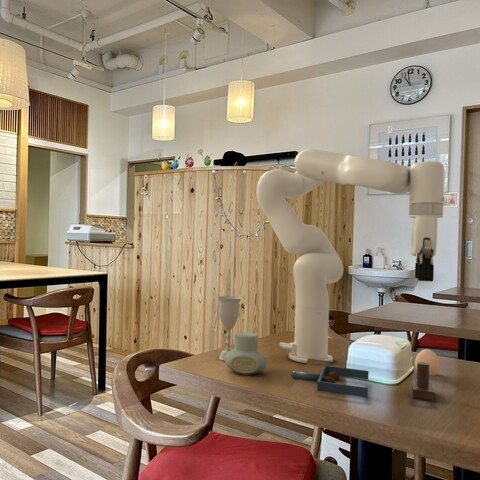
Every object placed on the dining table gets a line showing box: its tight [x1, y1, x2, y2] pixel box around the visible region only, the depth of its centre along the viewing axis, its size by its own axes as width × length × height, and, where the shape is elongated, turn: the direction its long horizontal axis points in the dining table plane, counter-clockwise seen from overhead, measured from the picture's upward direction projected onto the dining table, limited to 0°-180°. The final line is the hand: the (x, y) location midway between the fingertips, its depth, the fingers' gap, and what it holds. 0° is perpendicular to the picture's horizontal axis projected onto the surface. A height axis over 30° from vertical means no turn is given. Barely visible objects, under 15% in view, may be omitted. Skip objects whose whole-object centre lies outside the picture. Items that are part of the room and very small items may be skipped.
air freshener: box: [224, 331, 268, 376], centre depth 128 cm, size 11×8×10 cm
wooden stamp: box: [411, 362, 435, 403], centre depth 108 cm, size 4×8×8 cm, turn 155°
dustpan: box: [290, 365, 370, 399], centre depth 116 cm, size 18×16×3 cm
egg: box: [414, 348, 441, 377], centre depth 127 cm, size 6×6×8 cm
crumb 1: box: [323, 375, 337, 383], centre depth 114 cm, size 3×3×3 cm
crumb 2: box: [326, 372, 340, 382], centre depth 119 cm, size 3×3×3 cm
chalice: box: [217, 295, 242, 362], centre depth 142 cm, size 7×7×18 cm
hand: (423, 279), depth 121 cm, fingers open, 9 cm apart
